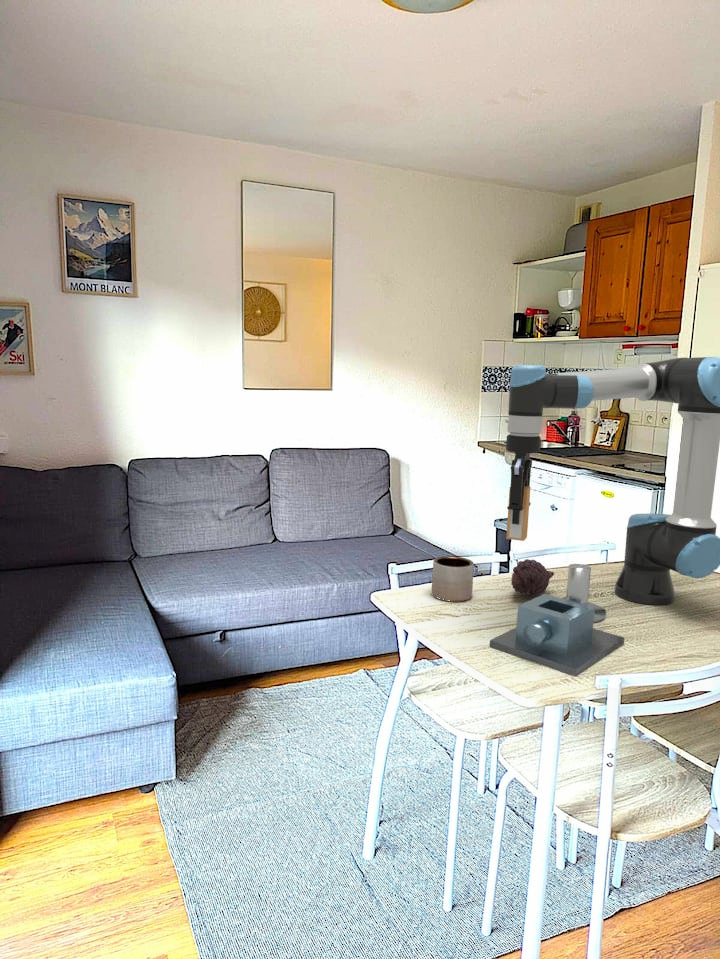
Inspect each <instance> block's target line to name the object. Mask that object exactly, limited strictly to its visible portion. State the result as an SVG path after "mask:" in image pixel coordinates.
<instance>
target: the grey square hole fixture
mask: <svg viewBox="0 0 720 959" xmlns="http://www.w3.org/2000/svg"><path fill="white" fill-rule="evenodd" d="M591 570H592V567H591V566H588V565H586V564H582V563H571V564H569V565H568V571H567V574H568V575H567V584H566V596H565V597H566V598H562V597H558V596H554V595H551V594H547V593H544V594H540V595H538V596H537V597H534V598H532V599H530V600H528V601H526V602H523V603H521V604H519V605H517V617H516V627H514V628H512V629H510V630H508V631H506V632H504V633H502V634H500V635H498V636H495V637H493V638H492V639H490V640H489V647H490V648H492V649H495V650H499V651H501V652H504V653H507V654H510V655H512V656H516V657H519V658H520V659H521V658H522V659H525V660H527V661H530V662H533V663H535V662H536V663H537V665H538V664H539V665H542V666H545V667H548V668H551V669H552V670H556V671H559V672H562V673H565V674H567V675H570V676H573V677H577V676H578V675H579V674H581V673H583V671H585V670H587V669H588V668H590V667H591V666H593V665H594V664H596V663H597V662H600V660H602V659H604V658H605V657H606V656H608V655H610V654H611V653H612V652H613V651H615V650H617V649H619V648H620V647H622V646H623V645H624V644H625V637H624V636H621V635H616V634H614V633H610V632H608V631H603V630H600V629H596V628H594V624H600V623H602V622H604V621H605V620H606V619H607V611H606V609H605V608H604V607H603V606H600V605H598V604H596V603H593V602H589V595H590V583H591ZM536 663H535V664H536Z"/></svg>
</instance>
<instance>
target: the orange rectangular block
mask: <svg viewBox="0 0 720 959" xmlns="http://www.w3.org/2000/svg"><path fill="white" fill-rule="evenodd" d="M508 491H509V492H508V505H507V506H508V507H509V504H510V489H509V490H508ZM530 498H531V485H530V486H525V487H524V497H523V509H522V510H523V523H522V538H521V539H520V538H512V537H509V529H510V513H511V509H507V523H506V524H507V526H506V536H505V537H506V540H513V541H522V542H524V541H525V540H526V539H527V538H528V529H529V525H528V524H529V515H530V514H529V512H530V506H529V502H530Z"/></svg>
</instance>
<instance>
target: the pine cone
mask: <svg viewBox="0 0 720 959" xmlns="http://www.w3.org/2000/svg"><path fill="white" fill-rule="evenodd" d="M512 572H513V573H512V574H511V580H510V581H511V586H512V588H513V590H514V591H515V592H517V593H521V594H528V593H529V594H528V595H530V596H532V597H533V596H537V597H539V596H541V595H543V594H545V591H546V590H547V589H548V587H549V582H550V579H552V578H553V576H554V575H555V572H554V571H550V570H547V569H546V567H545V566H544V565H543V564H542V563H541V562H540V561H537V560H535V559H529V558H527V559H524V560H523V561H522V560H520V561H518V562H517V565H516V566H514V567H513V568H512Z"/></svg>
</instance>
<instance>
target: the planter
mask: <svg viewBox="0 0 720 959" xmlns="http://www.w3.org/2000/svg"><path fill="white" fill-rule="evenodd" d="M432 561H433V563H432V578H431V595H432V594H433V595H434V596H436V597H438V598H440V599H444V600H450V601H461V602H465V601H464V600H466V601H468V600H470V599H471V598H472V597H473V584H474V566H475V565H474V564H475V563H474V561H473V560H471V559H468V558H465V557H461V556H453V555H452V556H439V557H436V558H434V559H433V560H432ZM433 595H432V596H433ZM434 596H433V597H434ZM436 597H435V598H436ZM438 598H437V599H438ZM440 599H439V600H440Z"/></svg>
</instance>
